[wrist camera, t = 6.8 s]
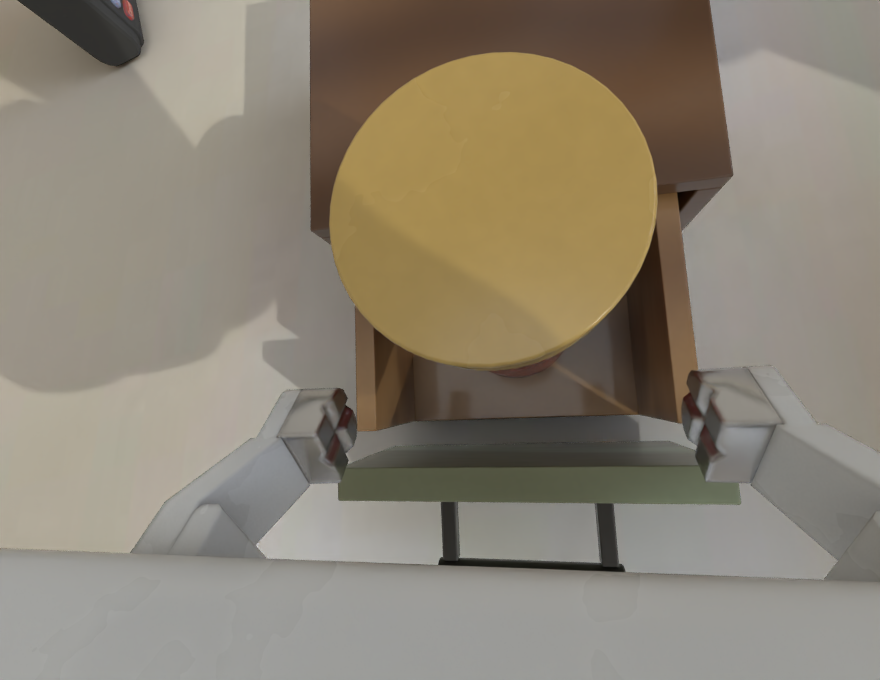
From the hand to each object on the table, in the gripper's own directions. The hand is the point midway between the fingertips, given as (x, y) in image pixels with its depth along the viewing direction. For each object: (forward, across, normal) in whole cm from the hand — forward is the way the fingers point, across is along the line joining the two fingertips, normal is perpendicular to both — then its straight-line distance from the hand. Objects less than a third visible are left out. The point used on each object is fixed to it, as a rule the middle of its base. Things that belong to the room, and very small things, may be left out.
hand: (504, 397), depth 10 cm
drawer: (+9, 0, +8) cm, 12 cm away
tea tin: (+10, 0, +5) cm, 11 cm away
